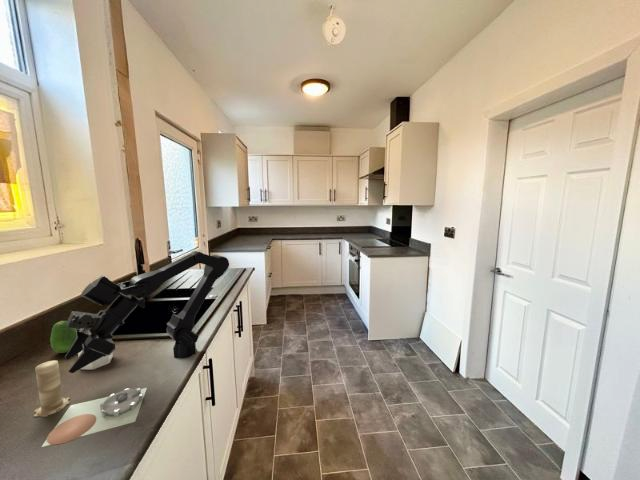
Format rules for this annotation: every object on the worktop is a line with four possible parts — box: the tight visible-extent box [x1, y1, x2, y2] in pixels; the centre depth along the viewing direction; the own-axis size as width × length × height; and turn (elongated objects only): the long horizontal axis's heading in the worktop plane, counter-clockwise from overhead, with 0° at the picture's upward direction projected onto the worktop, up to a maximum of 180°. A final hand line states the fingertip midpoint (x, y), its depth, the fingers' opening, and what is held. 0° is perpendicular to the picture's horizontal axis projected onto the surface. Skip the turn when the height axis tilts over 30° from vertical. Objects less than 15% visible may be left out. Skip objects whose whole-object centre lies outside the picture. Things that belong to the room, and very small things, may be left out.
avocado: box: [49, 320, 77, 354], centre depth 95 cm, size 8×8×12 cm
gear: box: [100, 387, 144, 418], centre depth 68 cm, size 9×9×2 cm
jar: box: [77, 350, 114, 371], centre depth 88 cm, size 9×8×12 cm
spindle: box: [33, 360, 71, 418], centre depth 66 cm, size 7×7×13 cm
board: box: [41, 387, 148, 448], centre depth 65 cm, size 17×14×1 cm
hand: (68, 365), depth 69 cm, fingers open, 9 cm apart
